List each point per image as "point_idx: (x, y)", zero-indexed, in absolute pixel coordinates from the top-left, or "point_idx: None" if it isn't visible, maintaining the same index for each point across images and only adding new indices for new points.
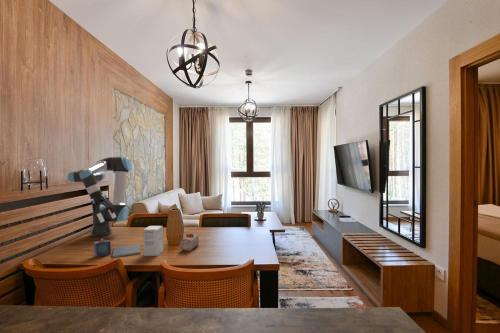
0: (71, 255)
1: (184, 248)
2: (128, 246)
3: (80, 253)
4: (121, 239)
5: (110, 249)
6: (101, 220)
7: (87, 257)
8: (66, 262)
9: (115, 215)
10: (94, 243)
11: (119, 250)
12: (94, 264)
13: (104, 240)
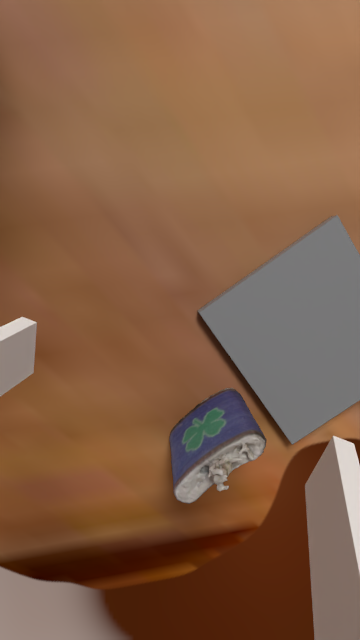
0: (15, 448)
1: None
2: (287, 280)
3: (39, 413)
4: (84, 78)
5: (248, 408)
6: (13, 371)
7: (141, 456)
8: (89, 529)
9: (356, 469)
10: (185, 501)
11: (275, 360)
12: (255, 521)
13: (232, 462)
